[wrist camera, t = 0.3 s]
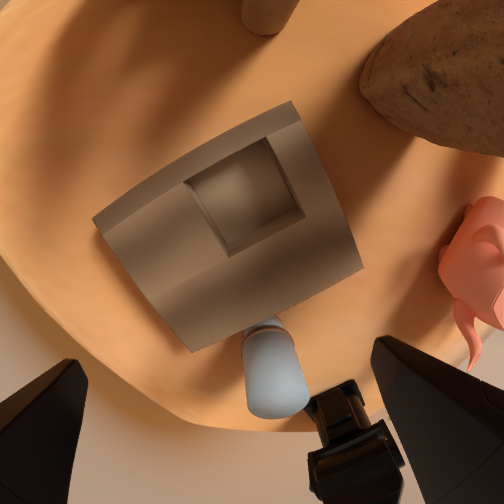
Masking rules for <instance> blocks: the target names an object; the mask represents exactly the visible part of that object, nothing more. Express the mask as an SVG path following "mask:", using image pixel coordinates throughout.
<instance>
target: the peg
mask: <svg viewBox="0 0 504 504" xmlns="http://www.w3.org/2000/svg"><path fill="white" fill-rule="evenodd" d="M294 347H295V346H294V341H293V339H292V337H291V335H290V334H289V333H288V331H287V330H285V329H284V326H283V323H282V321H281V320H280V319H279V318H278V317H277V316H275V315H274V316H272V317H270V318H268V319H266V320H264V321H262V322H260V323H257V324H255V325H253V326H251V327H249V328H247V329H245V330H244V338H243V341H242V345H241V355H242V358H243V367H244V376H245V386H246V396H247V405H248V409H249V411H250V412H251V413H252V414H253V415H255V416H257V417H259V418H263V419H281V418H285V417H289V416H291V415H294V414H296V413H298V412H299V411H301V410H302V409H303V408H304V407H305V406H306V405H307V403H308V402H309V399H310V394H309V391H308V387H307V384H306V381H305V378H304V375H303V372H302V369H301V366H300V363H299V360H298V357H297V354H296V351H295V348H294Z"/></svg>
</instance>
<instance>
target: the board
mask: <svg viewBox="0 0 504 504" xmlns="http://www.w3.org/2000/svg"><path fill="white" fill-rule="evenodd" d="M92 220H93V222H94V224H95V225H96V227H97V228H98V230H99V232H100V233H101V235H102V236H103V238H104V239H105V241H106V242H107V244H108V245H109V247H110V248H111V250H112V251H113V253H114V254H115V256H116V257H117V259H118V260H119V262H120V263H121V264H122V266H123V267H124V269H125V270H126V272H127V273H128V274H129V276H130V277H131V278H132V280H133V281H134V283H135V284H136V285H137V287H138V288H139V289H140V291H141V292H142V293H143V295H144V296H145V297H146V298H147V300H148V301H149V302H150V304H151V305H152V306H153V307H154V309H155V310H156V311H157V313H158V314H159V315H160V316H161V318H162V319H163V320H164V321H165V322H166V324H167V325H168V326H169V327H170V328H171V330H172V331H173V332H174V333H175V334H176V336H177V337H178V338H179V339H180V340H181V341H182V343H183V344H184V345H185V346H186V347H187V348H188V349H189V351H190V352H191V353H193V352H195V351H198V350H200V349H202V348H205V347H207V346H209V345H211V344H214V343H216V342H218V341H221V340H223V339H225V338H227V337H229V336H232V335H234V334H236V333H238V332H240V331H243V330H245V329H247V328H249V327H251V326H253V325H255V324H257V323H260V322H262V321H264V320H266V319H268V318H270V317H272V316H274V315H276V314H278V313H280V312H282V311H284V310H286V309H288V308H290V307H292V306H294V305H296V304H298V303H300V302H302V301H304V300H306V299H308V298H310V297H312V296H313V295H315V294H317V293H319V292H321V291H323V290H325V289H327V288H328V287H330V286H332V285H334V284H336V283H338V282H339V281H341V280H343V279H345V278H347V277H349V276H350V275H352V274H354V273H356V272H357V271H359V270H361V269H363V268H364V266H363V264H362V261H361V258H360V255H359V252H358V249H357V246H356V244H355V241H354V238H353V236H352V233H351V230H350V228H349V225H348V222H347V220H346V217H345V215H344V212H343V210H342V207H341V205H340V202H339V200H338V198H337V195H336V193H335V190H334V188H333V186H332V183H331V181H330V179H329V177H328V174H327V172H326V170H325V168H324V165H323V163H322V161H321V159H320V157H319V155H318V153H317V150H316V148H315V146H314V144H313V142H312V140H311V138H310V136H309V134H308V132H307V130H306V128H305V126H304V124H303V122H302V120H301V118H300V116H299V114H298V112H297V111H296V109H295V107H294V105H293V103H292V101H289V102H286V103H284V104H282V105H280V106H277V107H275V108H273V109H271V110H269V111H266V112H264V113H262V114H260V115H258V116H256V117H254V118H252V119H250V120H248V121H246V122H244V123H242V124H240V125H238V126H236V127H234V128H232V129H230V130H228V131H226V132H224V133H222V134H221V135H219V136H217V137H215V138H213V139H211V140H210V141H208V142H206V143H204V144H202V145H201V146H199V147H197V148H196V149H194V150H192V151H190V152H189V153H187V154H185V155H184V156H182V157H180V158H179V159H177V160H175V161H174V162H172V163H170V164H169V165H167V166H166V167H164V168H163V169H161V170H159V171H158V172H156V173H155V174H153V175H152V176H150V177H149V178H147V179H146V180H144V181H143V182H141V183H140V184H138V185H137V186H135V187H134V188H132V189H131V190H130V191H128V192H127V193H125V194H124V195H122V196H121V197H120V198H118V199H117V200H116V201H114V202H113V203H111V204H110V205H109V206H107V207H106V208H105V209H103V210H102V211H101V212H99V213H98V214H97V215H96V216H94V217H93V218H92Z"/></svg>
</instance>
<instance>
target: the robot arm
mask: <svg viewBox="0 0 504 504" xmlns="http://www.w3.org/2000/svg"><path fill="white" fill-rule="evenodd" d="M370 361H371V366H372V369H373V372H374V375H375V378H376V381H377V384H378V387H379V390H380V393H381V396H382V399H383V402H384V405H385V407H386V410H387V412H388V414H389V416H390V419H391V421H392V423H393V425H394V427H395V430H396V432H397V434H398V437H399V439H400V441H401V444H402V446H403V448H404V450H405V453H406V455H407V458H408V460H409V463H410V465H411V468H412V470H413V472H414V475H415V478H416V480H417V482H418V485H419V488H420V490H421V493H422V496H423V498H424V501H425V504H504V390H501V389H499V388H497V387H495V386H493V385H490V384H488V383H486V382H484V381H480V379H478V378H476V377H474V376H471V375H469V374H467V373H465V372H463V371H461V370H459V369H457V368H455V367H453V366H451V365H449V364H447V363H445V362H443V361H441V360H439V359H437V358H435V357H433V356H431V355H428V354H426V353H424V352H422V351H420V350H418V349H416V348H414V347H412V346H410V345H408V344H406V343H404V342H402V341H400V340H398V339H396V338H394V337H392V336H390V335H384V336H380V337H377V338H376V339H375V341H374V345H373V350H372V354H371V359H370ZM87 389H88V379H87V376H86V375H85V373H84V371H83V369H82V367H81V365H80V363H79V361H78V360H76V359H70V358H66V359H64V360H62V361H61V362H60V363H58V364H56V365H55V366H53V367H52V368H51V369H49V370H48V371H46V372H45V373H43V374H42V375H40V376H39V377H37V378H36V379H34V380H33V381H31V382H30V383H29V384H27V385H26V386H24V387H23V388H21V389H20V390H18V391H17V392H16V393H14V394H13V395H11V396H10V397H8V398H7V399H5V400H4V401H2V402H1V403H0V504H67V501H68V493H69V486H70V480H71V474H72V468H73V462H74V458H75V453H76V448H77V443H78V439H79V434H80V430H81V426H82V420H83V413H84V407H85V401H86V395H87ZM364 406H365V403H364V400H363V398H362V395H361V393H360V391H359V388H358V386H357V384H356V382H355V380H353V379H352V380H349V381H347V382H345V383H343V384H341V385H339V386H337V387H335V388H333V389H331V390H329V391H327V392H325V393H323V394H320V395H318V396H316V397H314V398H312V399H309V402H308V403H307V405H306V406H305V407H304V408H303V409H304V410H305V411H306V412H307V414H308V415H309V416H310V417H311V419H312V420H313V421H314V422H315V423H316V426H317V429H318V433H319V436H320V439H321V442H322V446H323V448H321V449H319V450H316V451H314V452H313V451H312V452H309V453H308V460H307V461H308V470H309V479H310V485H309V489H310V491H311V492H314V493H315V495H316V496H317V498H318V499H319V500H320V501H323V504H400V500H401V496H402V492H403V488H404V480H403V477H402V475H401V472H400V470H399V468H401V467H403V466H405V462H404V460H403V458H402V455H401V453H400V451H399V449H398V446H397V445H396V442H395V440H394V439H393V437H392V435H391V433H390V431H389V429H388V427H387V425H386V423H385V422H384V420H383V419H381V420H379V422H378V423H375V424H373V425H371V422H370V420H369V418H368V416H367V414H366V412H365V410H364V408H363V407H364ZM385 439H386V440H385Z"/></svg>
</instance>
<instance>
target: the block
mask: <svg viewBox="0 0 504 504" xmlns="http://www.w3.org/2000/svg"><path fill="white" fill-rule="evenodd" d="M359 89H360V92H361V94H362V95H363V96H364V98H365V99H366V100H367V101H368V102H369V103H370V104H371V106H372V107H373V108H374V109H375V110H376V111H377V112H378V113H379V114H380V115H381V116H383V117H384V118H385V119H386V120H387V121H388V122H390V123H391V124H393V125H394V126H396V127H397V128H399V129H400V130H402V131H404V132H407V133H409V134H412V135H415V136H417V137H420V138H423V139H426V140H427V141H429V142H431V143H434V144H436V145H440V146H443V147H450V148H456V149H459V150H462V151H468V152H476V153H481V154H487V155H493V156H499V157H503V158H504V0H438V1H436V2H435V3H433V4H431V5H429V6H428V7H426V8H425V9H423V10H421V11H420V12H417V13H416V14H414V15H413V16H411V17H410V18H408V19H407V20H406V21H404V22H403V23H402V24H400V25H399V26H398V27H396V28H395V29H393V30H392V31H391V32H390V33H389V34H388V35H386V36H385V38H384V39H383V40H382V41H381V42H380V43H379V44H378V45H377V46H376V48H375V49H374V50H373V52H372V53H371V55H370V56H369V58H368V60H367V61H366V63H365V65H364V69H363V71H362V73H361V75H360V80H359Z"/></svg>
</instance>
